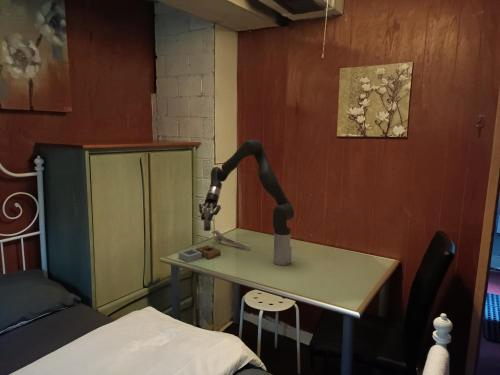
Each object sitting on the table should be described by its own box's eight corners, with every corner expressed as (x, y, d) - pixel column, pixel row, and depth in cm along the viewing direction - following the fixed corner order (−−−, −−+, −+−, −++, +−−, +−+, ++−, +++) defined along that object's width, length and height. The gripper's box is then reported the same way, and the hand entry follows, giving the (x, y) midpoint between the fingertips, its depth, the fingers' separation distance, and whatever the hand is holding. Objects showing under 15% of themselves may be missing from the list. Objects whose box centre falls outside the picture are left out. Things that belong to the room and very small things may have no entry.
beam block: (220, 255, 217) (220, 250, 216) (208, 259, 210) (208, 253, 210) (207, 250, 225) (207, 245, 224) (195, 254, 218) (195, 248, 218)
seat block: (201, 258, 212) (201, 252, 211) (188, 262, 205) (188, 256, 205) (191, 254, 218) (191, 248, 218) (178, 258, 212) (178, 252, 211)
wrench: (248, 255, 227) (210, 240, 243) (249, 254, 229) (212, 240, 244) (249, 243, 225) (212, 229, 241) (251, 242, 227) (213, 228, 243)
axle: (212, 230, 215) (212, 208, 213) (206, 231, 212) (206, 209, 210) (207, 228, 218) (207, 207, 216) (202, 229, 215) (202, 208, 213)
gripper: (200, 191, 220) (192, 215, 211) (222, 192, 217) (216, 217, 207) (203, 198, 226) (196, 222, 217) (225, 199, 223) (219, 224, 213)
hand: (206, 219), depth 212 cm, fingers closed on axle, 4 cm apart
